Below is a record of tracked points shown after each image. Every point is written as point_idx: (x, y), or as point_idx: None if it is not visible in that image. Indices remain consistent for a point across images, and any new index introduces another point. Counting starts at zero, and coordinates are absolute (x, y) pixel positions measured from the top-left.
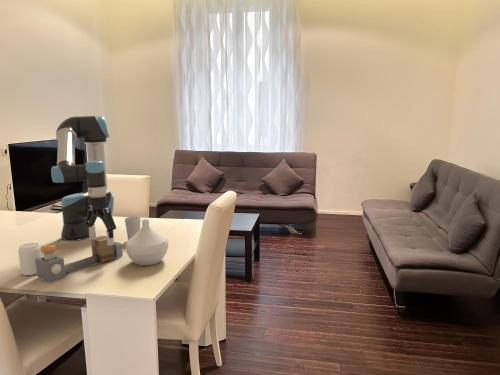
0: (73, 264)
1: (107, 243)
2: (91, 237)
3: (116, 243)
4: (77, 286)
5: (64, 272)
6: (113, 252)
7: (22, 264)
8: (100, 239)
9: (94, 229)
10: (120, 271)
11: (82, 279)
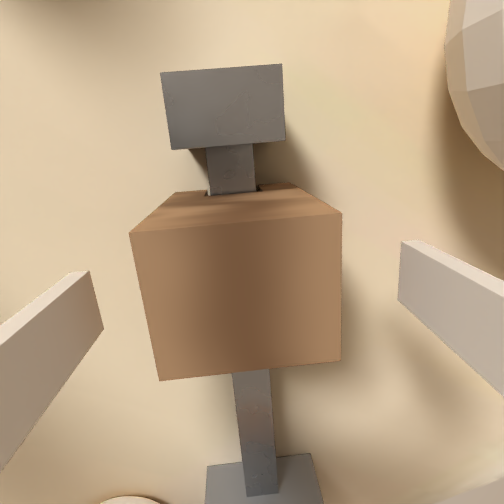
0: (273, 436)
1: (409, 310)
2: (84, 341)
3: (233, 101)
4: (452, 456)
5: (316, 477)
6: (252, 158)
7: None
8: (279, 329)
9: (12, 353)
10: (492, 262)
11: (404, 419)
